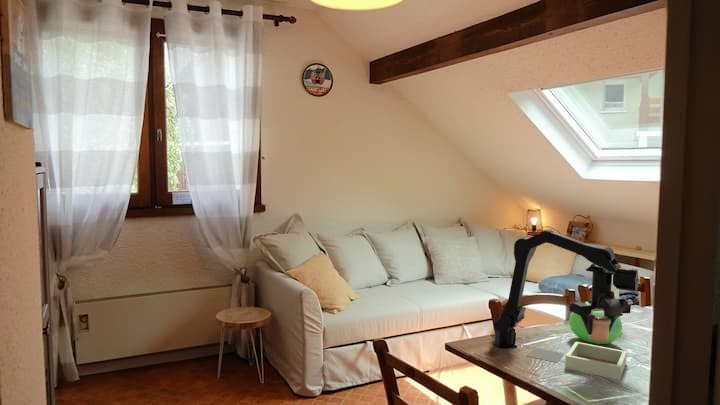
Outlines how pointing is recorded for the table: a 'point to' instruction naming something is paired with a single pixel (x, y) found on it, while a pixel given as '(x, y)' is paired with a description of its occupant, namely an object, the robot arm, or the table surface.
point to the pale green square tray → (596, 360)
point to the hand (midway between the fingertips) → (598, 333)
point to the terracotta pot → (600, 328)
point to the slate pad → (545, 355)
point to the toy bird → (582, 333)
